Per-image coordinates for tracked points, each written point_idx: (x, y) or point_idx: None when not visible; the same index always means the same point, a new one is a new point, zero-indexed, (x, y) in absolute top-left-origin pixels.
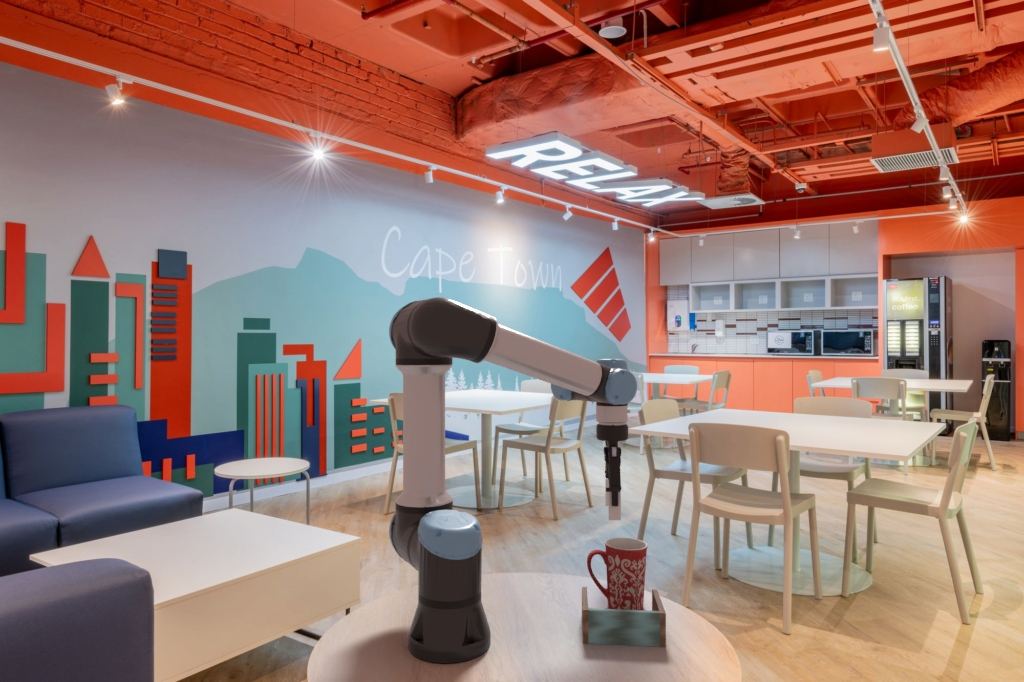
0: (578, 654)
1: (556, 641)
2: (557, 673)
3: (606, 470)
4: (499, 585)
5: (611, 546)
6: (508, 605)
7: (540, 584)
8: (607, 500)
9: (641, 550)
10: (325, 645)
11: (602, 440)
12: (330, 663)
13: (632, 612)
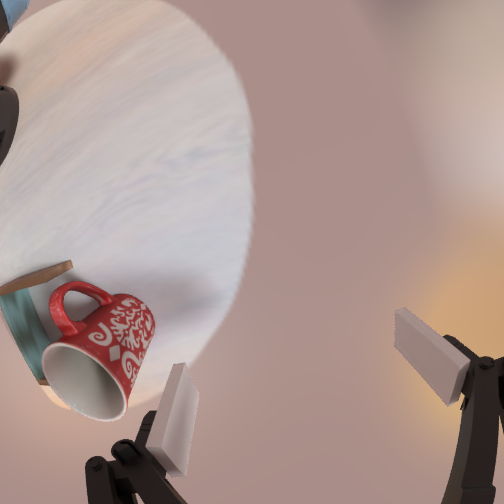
0: (4, 277)
1: (11, 245)
2: None
3: (472, 413)
4: (152, 73)
5: (43, 357)
6: (72, 132)
7: (179, 140)
8: (405, 326)
9: (72, 406)
10: None
11: None
12: None
13: (20, 349)
